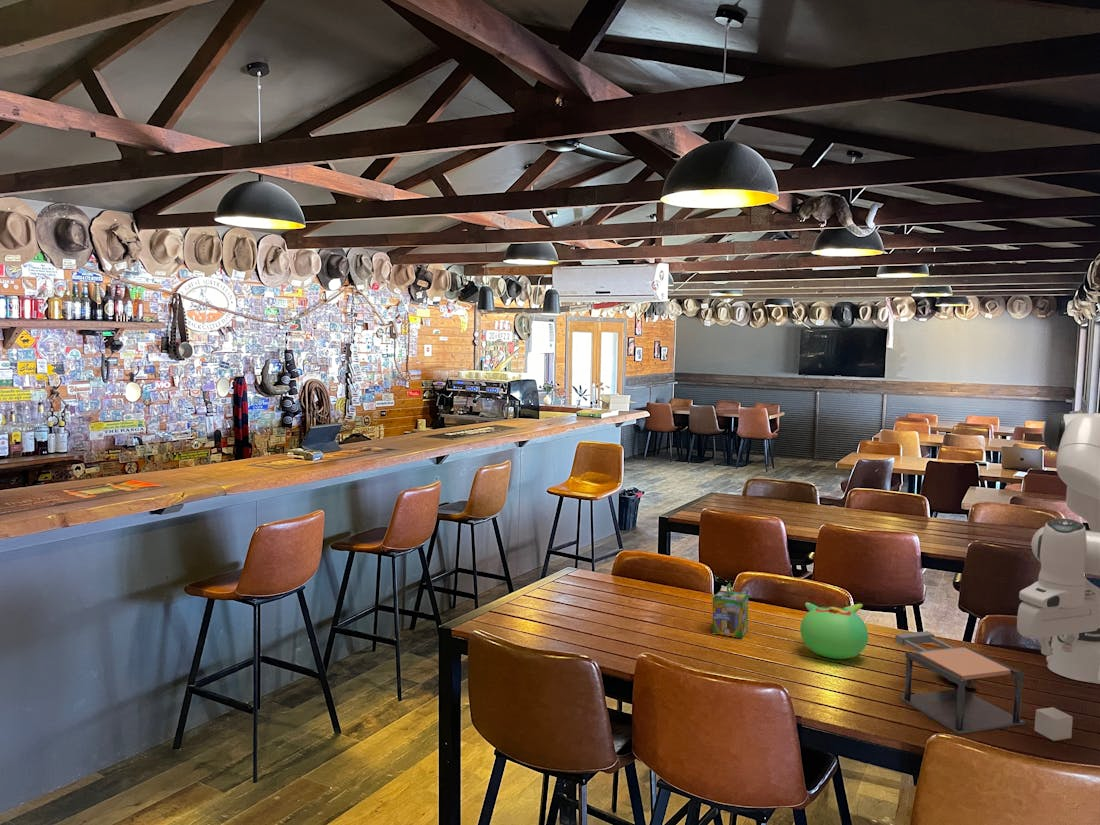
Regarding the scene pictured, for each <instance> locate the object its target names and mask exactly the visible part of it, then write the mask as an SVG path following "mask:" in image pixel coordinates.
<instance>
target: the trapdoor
mask: <svg viewBox="0 0 1100 825" xmlns="http://www.w3.org/2000/svg"><path fill="white" fill-rule="evenodd" d="M894 639H895V640H894V642H895V643H896V644H898V645H900V646H908V647H910V648H912V649H914V650H916V651H915V652H914V654H916V655H918V656H920V657H922V658H924V659H926V660H928V661H930V662H932V663H934V664H936V665H938V666H940V667H941V668H943V669H945V670H947V671H949V672H951V673H953V674H955V675H957V676H959V677H961V678H963V679H965V680H968V679H982V678H983V679H984V678H989V677H991V678H992V677H998V676H1006V675H1010V674H1011V670H1010V669H1008V668H1006V667H1004V666H1002V665H1000V664H998V663H995V662H993V661H991V660H989V659H987V658H985V657H983V656H981V655H979V654H977V653H975V652H973V651H971V650H969V649H967V648H966V647H967V646H966V647H960V646H958V647H953V646H952V645H949V644H948V643H945V642H943V641H942V640H939V639H937V638H935V634H934V633H932V632H931V631H928V630H927V631H914V632H907V633H895V637H894ZM929 643H934V644H936V645H938V646H940V647H942V648H940V649H929V650H927V649H925V648H923V647H921V646H919V644H929Z"/></svg>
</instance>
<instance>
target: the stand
mask: <svg viewBox="0 0 1100 825" xmlns="http://www.w3.org/2000/svg"><path fill="white" fill-rule="evenodd" d="M959 647H966V648H967V649H969V650H971V651H973V652H975V653H977V654H979V655H981V656H983V657H985V658H987V659H989V660H991V661H993V662H995V663H998V664H1000V665H1002V666H1004V667H1006V668H1008V669H1010V670H1011V674H1009V675H1010V676H1012V677H1014V679H1015V680H1014V692H1013V694H1014V695H1013V696H1014V697H1013V709H1012V710H1013V711H1012V714H1011V713H1009V712H1007V711H1006V710H1004V709H1001V708H1000V707H998V706H996V705H994V704H993V703H990V702H988V701H987V700H984V699H983V698H981V697H979V696H977V695H976V694H973V693H971V692H969V691H968V690H966V686H967V680H965V679H963V678H961V677H959V676H957V675H955V674H953V673H951V672H949V671H947V670H945V669H943V668H941V667H940V666H938V665H936V664H934V663H932V662H930V661H928V660H926V659H924V658H922V657H920V656H918V655H916V654H915V652H911V651H906V652H905V660H906V662H905V680H904V681H905V682H904V695H899V700H901V701H902V702H905V704H907V705H909V706H911V707H913V708H914V709H916V710H917V711H919V712H921V713H923V714H924V715H926V716H928V717H929V718H932V719H933V720H935V721H936V722H938V723H939V724H941V725H943V726H945V728H946V727H947V728H948V729H949V730H951V731H953V732H955V734H956V733H957V734H958V735H961V734H962V735H964V734H969V733H974V732H982V731H988V730H996V729H997V730H998V729H1003V728H1010V727H1017V726H1023V725H1026V721H1025V720H1023V719H1021V706H1022V705H1021V704H1022V691H1023V690H1022V689H1023V679H1025V673H1024V672H1022V671H1020V670H1018V669H1016V668H1014V667H1012V666H1009V665H1007V664H1005V663H1002V662H1000V661H999V660H996V659H994V658H992V657H990V656H987V655H986V654H983V653H981V652H978V650H977V651H976V650H974V649H972V648H970V647H968V646H966V645H959ZM913 663H917V664H918V665H920V666H921V667H924V668H926V669H928V670H929V671H932V672H933V673H935V674H937V675H939V676H941V677H943V678H945V679H947V680H948V679H949V680H951V681H952V682H951V683H955V684H956V685H957V688H953V689H947V690H945V689H944V690H939V691H930V692H929V691H928V692H923V693H915V694H912V679H913V678H912V677H913ZM949 680H948V681H949Z"/></svg>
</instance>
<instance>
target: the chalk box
mask: <svg viewBox="0 0 1100 825" xmlns="http://www.w3.org/2000/svg"><path fill="white" fill-rule="evenodd" d="M749 598H750V597H749V594H748V593H741V592H738V591H733V589H732V584H731V582H729V583H727V585H726V590H721V589H720V590H719V591H718V592H717V593H716V594H715V595H714V596H713V597H712V632H711V633H716V634H722V635H726V636H725V637H729V636H732V637H731V638H735V637H736V639H741V638H742V639H743V638H744V636H745V635H744V634H746V633H747V632H748V627H749V624H748V623H749ZM722 635H721V636H722Z"/></svg>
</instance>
